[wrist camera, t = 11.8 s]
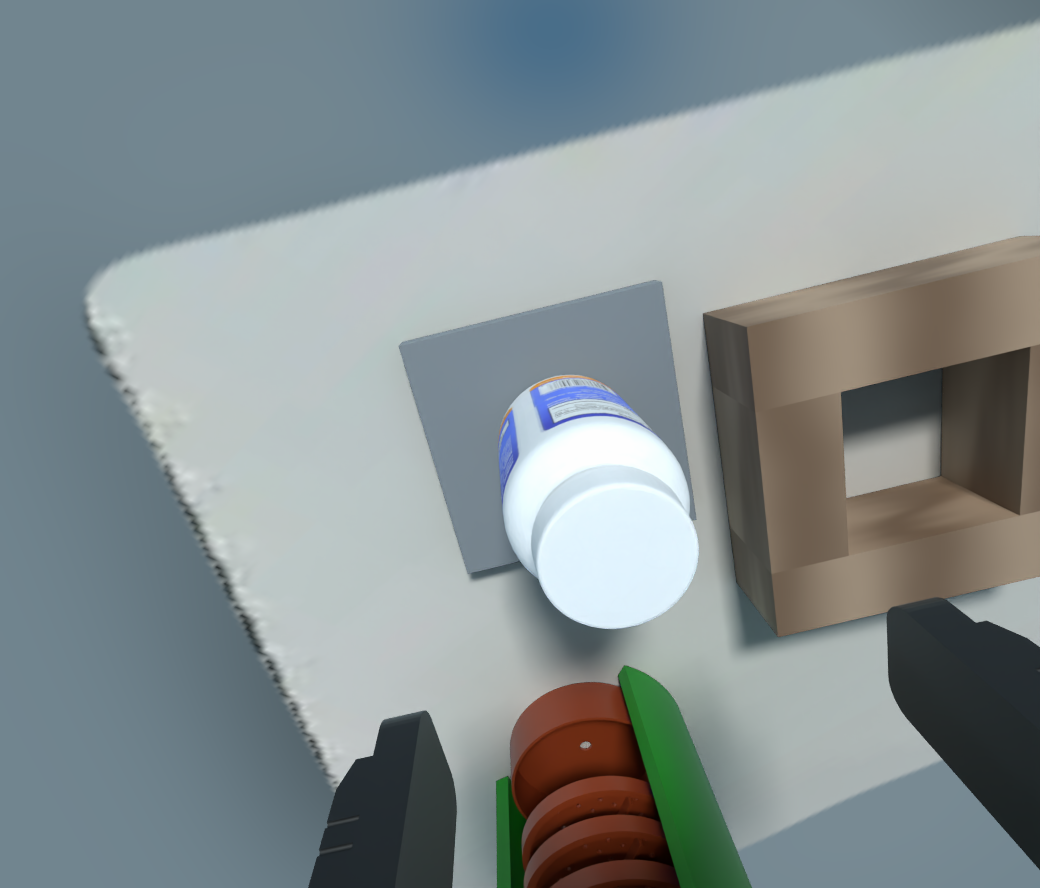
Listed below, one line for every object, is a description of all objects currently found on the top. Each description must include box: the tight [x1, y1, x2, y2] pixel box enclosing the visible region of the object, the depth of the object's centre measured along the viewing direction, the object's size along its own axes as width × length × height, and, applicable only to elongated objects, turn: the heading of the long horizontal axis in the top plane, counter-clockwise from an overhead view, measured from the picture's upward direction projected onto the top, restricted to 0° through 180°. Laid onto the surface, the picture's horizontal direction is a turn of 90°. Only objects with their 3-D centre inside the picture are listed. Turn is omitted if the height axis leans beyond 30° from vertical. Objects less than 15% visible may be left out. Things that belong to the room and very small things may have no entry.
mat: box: [399, 280, 697, 574], centre depth 24 cm, size 10×10×1 cm
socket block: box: [703, 236, 1040, 637], centre depth 23 cm, size 13×13×4 cm
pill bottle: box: [498, 375, 699, 629], centre depth 18 cm, size 5×5×10 cm
